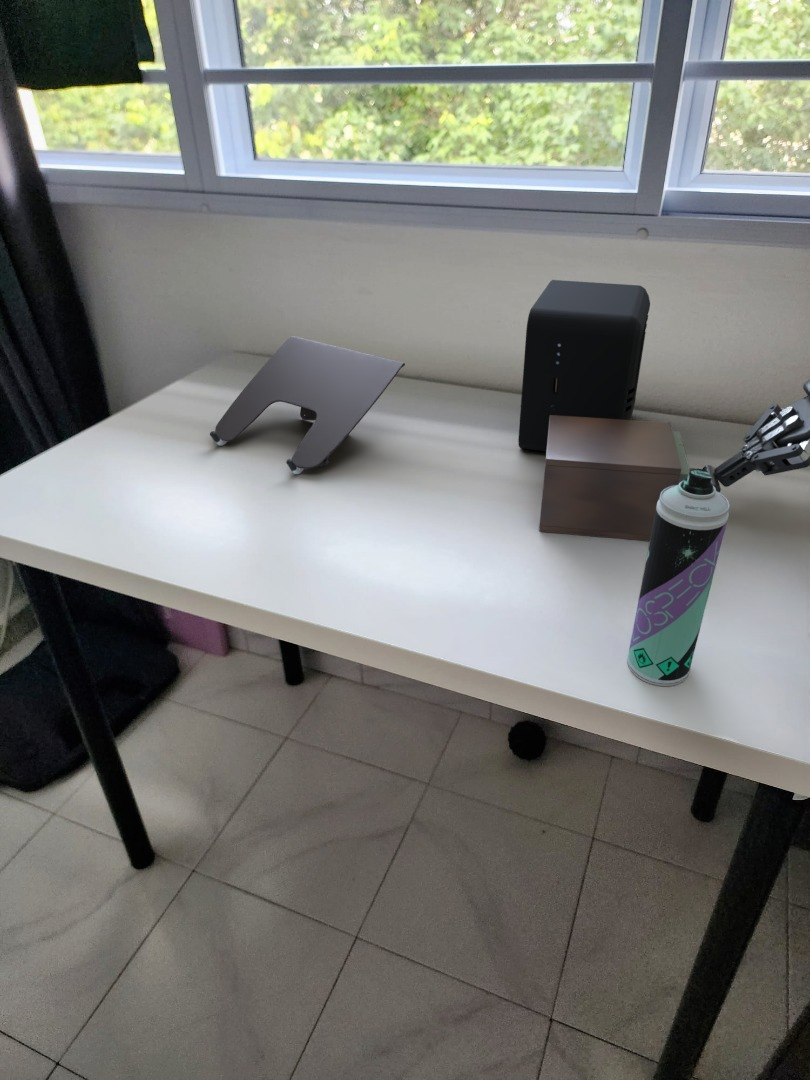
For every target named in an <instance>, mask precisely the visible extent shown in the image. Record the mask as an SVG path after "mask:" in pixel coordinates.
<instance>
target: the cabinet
mask: <svg viewBox="0 0 810 1080" xmlns="http://www.w3.org/2000/svg"><path fill="white" fill-rule="evenodd" d="M672 431H673V428H672V424H671V422H669V421H653V420H635V419H631V420H622V419H606V418H589V417H573V416H557V415H550V418H549V429H548V440H547V450H546V451H545V461H544V472H543V482H542V483H543V484H542V494H541V505H540V516H539V526H538V532H543V533H553V534H563V535H564V534H567V535H574V536H575V535H577V536H589V537H597V538H608V539H609V538H610V539H622V540H631V541H632V540H634V541H644V542H650V538H651V532H652V527H653V522H654V517H655V512H656V506H657V502H658V500H659V499H660V494H661V492H662V491H663V490H664V489H665V488H667V487H670V486H673V485H678V484H679V479H680V474H681V465H680V461H679V457H678V453H677V448H676V444H675V440H674V436H673V432H674V431H673V432H672Z"/></svg>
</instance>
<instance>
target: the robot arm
mask: <svg viewBox="0 0 810 1080" xmlns="http://www.w3.org/2000/svg"><path fill="white" fill-rule="evenodd" d="M802 389H803V391H804V393H805V394H806V396H804V397H802V398H801V399H798V400H795V401H793V402H792V403H790V404H789V405H788V406H787V407H785V408H781V406H780V405H779V404H778V403H773V404H771V405H770V406H769V407H768V408H767V409H766V411H764V413H763V414H762V415H761V416H760V418H758V420H757V421H756V422H755V423H754V425H753V426H752V427H751V429H750V430H749V431H748V432H746V433H747V434H746V435H745V436H744V437H743V441H744V443H745V444H744V445H742V446H741V448H740V451H739V452H737V453H736V454H735V455H733V456H731V457H730V458H728V459H727V460H725V461H724V462H722V463H721V464H719V465H718V466H717V467H714V469H715V470H714V472H715V475H716V478H717V479H718V482H719V484H721V485H722V486H723V487H725V488H729V487H730V486H732V485H733V484H735V483H737V482H738V481H739V480H741V479H743V478H744V477H746V476H747V475H749V474H751V473H752V472H754V471H755V472H757V473H758V472H761V473H762V474H763V475H764V476H771V475H776V474H781V473H785V472H791V471H795V470H801V469H806V468H809V467H810V378H809V379H807V380H806V381H805V382H804V383H803V385H802Z"/></svg>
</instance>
